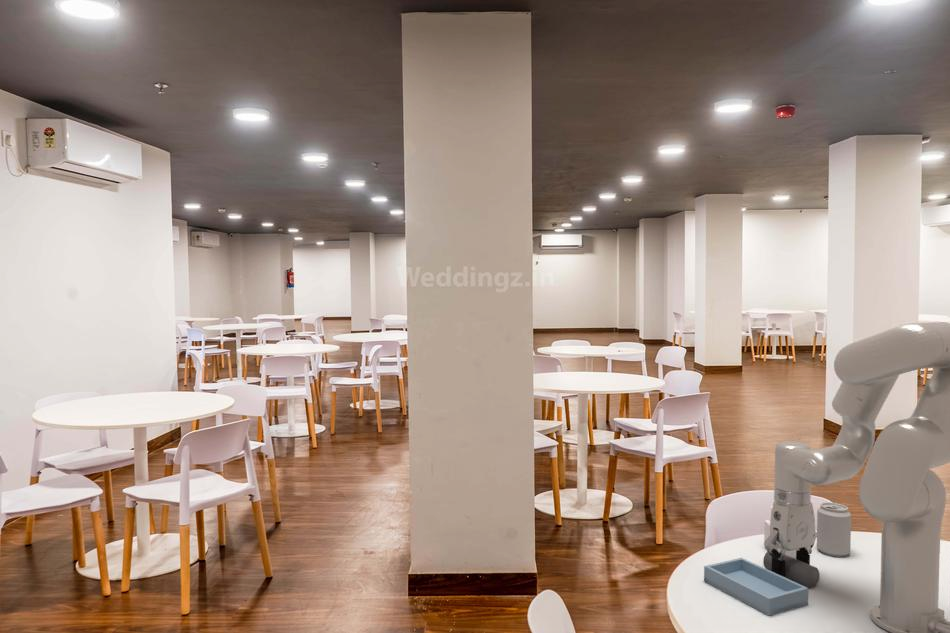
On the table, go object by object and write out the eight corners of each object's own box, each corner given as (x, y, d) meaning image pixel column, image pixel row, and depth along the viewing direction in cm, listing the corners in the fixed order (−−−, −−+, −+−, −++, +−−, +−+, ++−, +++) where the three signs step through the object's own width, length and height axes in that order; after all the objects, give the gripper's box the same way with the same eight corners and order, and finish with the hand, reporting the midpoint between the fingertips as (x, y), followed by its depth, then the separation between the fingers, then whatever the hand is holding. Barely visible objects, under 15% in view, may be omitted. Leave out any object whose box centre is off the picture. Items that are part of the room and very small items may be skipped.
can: (809, 549, 166) (810, 503, 166) (829, 544, 169) (830, 499, 169) (837, 560, 159) (838, 511, 159) (857, 555, 162) (858, 507, 162)
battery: (818, 587, 145) (820, 566, 145) (804, 589, 143) (806, 567, 143) (772, 567, 155) (774, 547, 156) (758, 568, 153) (760, 548, 154)
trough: (808, 604, 136) (808, 588, 136) (768, 615, 131) (769, 598, 131) (741, 572, 152) (741, 557, 151) (704, 581, 147) (704, 566, 147)
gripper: (779, 506, 141) (777, 586, 142) (832, 496, 149) (830, 572, 149) (751, 496, 148) (750, 572, 149) (803, 487, 155) (802, 560, 156)
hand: (790, 571), depth 149 cm, fingers open, 7 cm apart
